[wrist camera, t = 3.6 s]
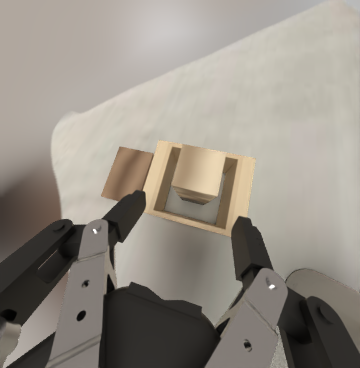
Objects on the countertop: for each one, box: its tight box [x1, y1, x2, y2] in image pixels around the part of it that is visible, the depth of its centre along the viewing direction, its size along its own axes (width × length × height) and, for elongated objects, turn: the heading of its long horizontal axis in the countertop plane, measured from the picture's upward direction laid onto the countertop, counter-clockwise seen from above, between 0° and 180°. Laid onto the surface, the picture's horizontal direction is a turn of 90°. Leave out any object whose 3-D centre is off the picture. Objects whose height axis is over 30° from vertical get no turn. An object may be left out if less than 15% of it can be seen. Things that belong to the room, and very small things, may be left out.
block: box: [171, 144, 226, 205], centre depth 22 cm, size 5×5×16 cm
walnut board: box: [101, 147, 154, 201], centre depth 31 cm, size 9×13×2 cm
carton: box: [143, 140, 256, 237], centre depth 25 cm, size 18×14×8 cm
